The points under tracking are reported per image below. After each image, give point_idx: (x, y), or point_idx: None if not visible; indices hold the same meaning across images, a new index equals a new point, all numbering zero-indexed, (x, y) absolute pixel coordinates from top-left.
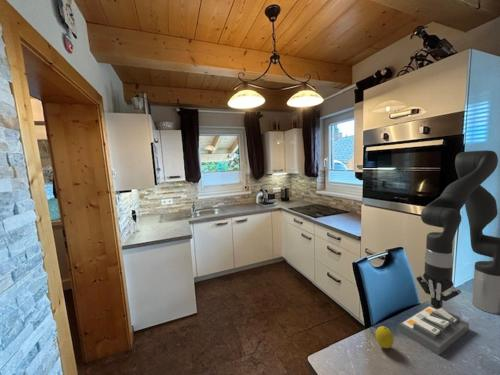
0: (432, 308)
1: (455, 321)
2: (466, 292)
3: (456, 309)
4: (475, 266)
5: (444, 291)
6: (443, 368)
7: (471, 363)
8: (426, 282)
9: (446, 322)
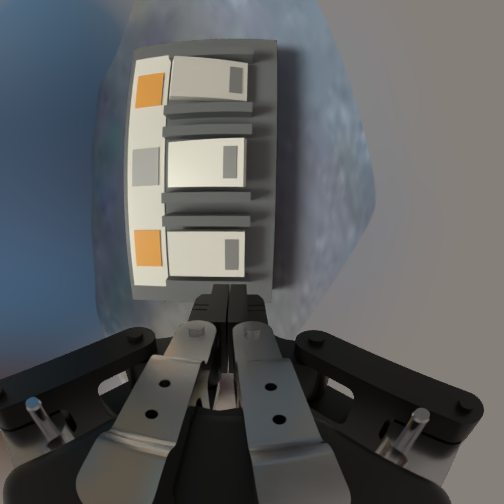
0: (149, 62)
1: (245, 75)
2: None
3: None
4: None
5: (290, 374)
6: (295, 327)
7: (336, 236)
8: (64, 385)
9: (240, 153)
